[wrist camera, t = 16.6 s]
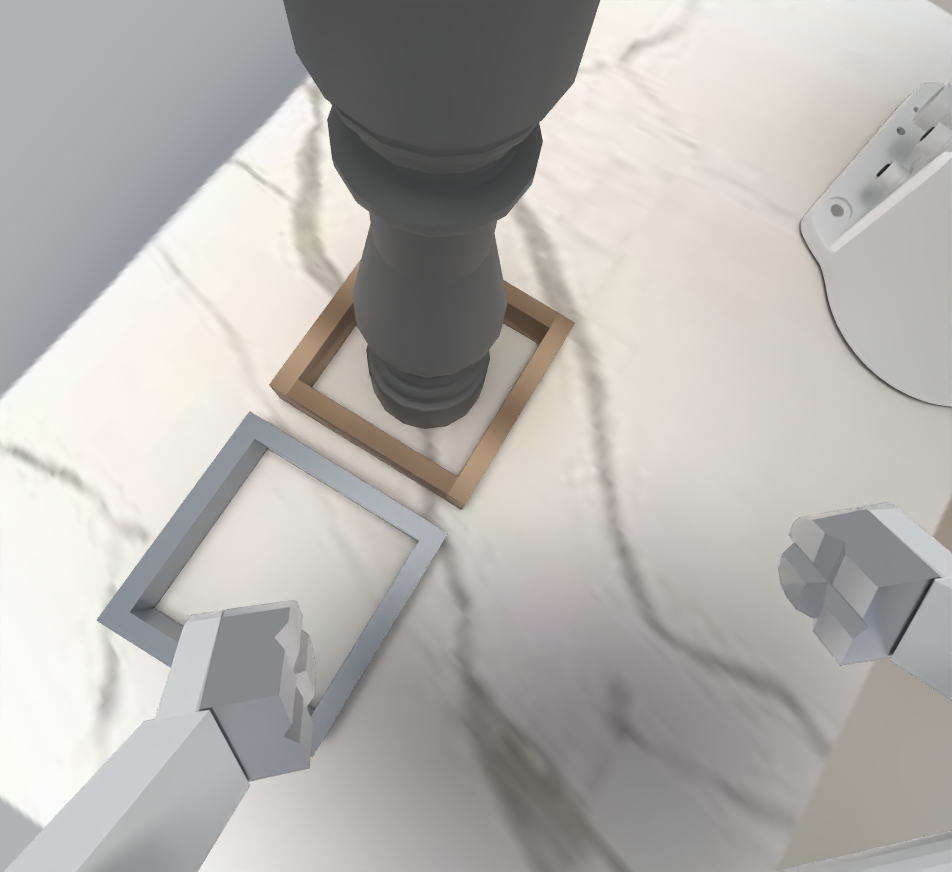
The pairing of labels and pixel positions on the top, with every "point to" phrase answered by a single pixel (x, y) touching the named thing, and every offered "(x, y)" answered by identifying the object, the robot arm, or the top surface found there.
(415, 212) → the candle holder
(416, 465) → the walnut frame
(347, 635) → the top surface
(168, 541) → the charcoal frame
